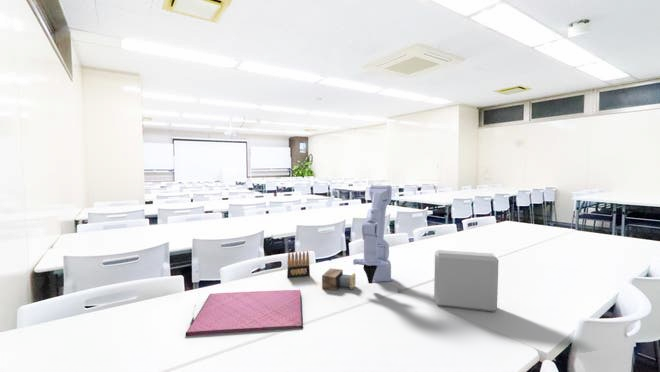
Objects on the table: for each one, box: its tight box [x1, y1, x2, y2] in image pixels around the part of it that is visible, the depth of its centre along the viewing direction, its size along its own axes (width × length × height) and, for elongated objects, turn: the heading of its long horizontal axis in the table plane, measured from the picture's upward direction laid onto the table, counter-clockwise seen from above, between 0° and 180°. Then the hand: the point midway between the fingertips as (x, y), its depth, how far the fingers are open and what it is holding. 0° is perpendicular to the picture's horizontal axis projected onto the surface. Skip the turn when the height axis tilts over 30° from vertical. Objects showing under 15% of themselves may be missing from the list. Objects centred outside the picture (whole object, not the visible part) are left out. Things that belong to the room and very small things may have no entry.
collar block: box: [321, 268, 344, 291], centre depth 133 cm, size 6×10×6 cm, turn 160°
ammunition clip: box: [286, 250, 311, 279], centre depth 144 cm, size 11×2×12 cm, turn 103°
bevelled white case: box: [433, 249, 499, 312], centre depth 113 cm, size 21×8×20 cm, turn 74°
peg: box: [339, 273, 356, 290], centre depth 131 cm, size 8×5×5 cm, turn 70°
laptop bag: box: [185, 289, 304, 337], centre depth 109 cm, size 40×4×27 cm
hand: (370, 282), depth 127 cm, fingers closed
